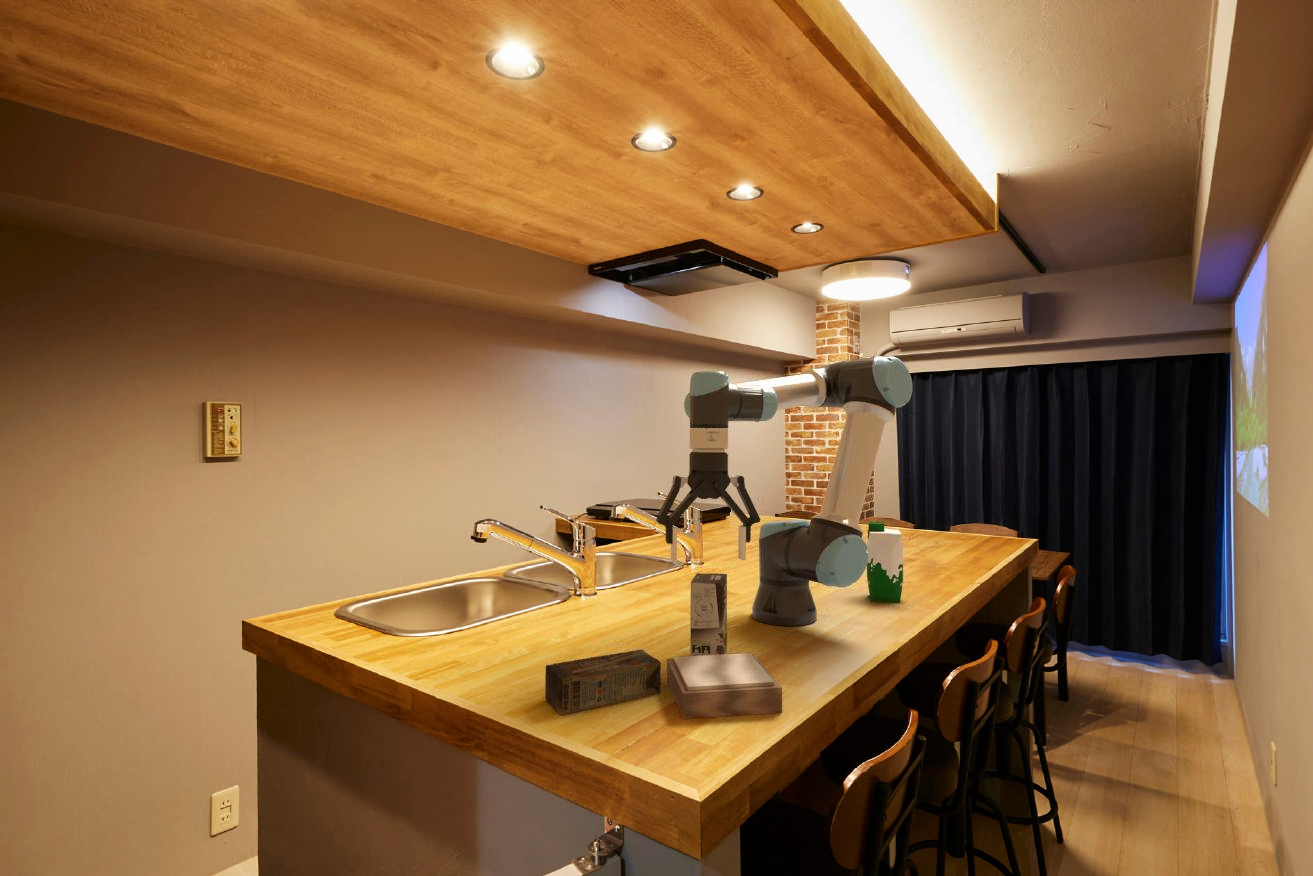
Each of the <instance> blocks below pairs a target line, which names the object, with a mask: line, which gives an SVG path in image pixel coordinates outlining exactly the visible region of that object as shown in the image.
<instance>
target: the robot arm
mask: <svg viewBox="0 0 1313 876" xmlns="http://www.w3.org/2000/svg"><path fill="white" fill-rule="evenodd" d="M729 378H730V377H729V374H728V373H727V372H726V371H720V370H700V371H695V372H693V373H692V375H691V376H690V381H689V392H688V393H687V394H686V396H685V398H684V402H683V404H684V405H683V407H684V412H685V414H686V416H687V417H688V418H689V444H688V445H689V449H690V450H692V451H691V452H690V453H689V456H688V457H689V458H688V461H689V462H688V463H689V469H688V470H689V471H688V476H687V477H685V476H680V475H676V474H675V475H673V477H672V482H671V483H672V484H671V485H672V486H671V487H670V490H669V492H668V494H667V496H666V498H665V500H664V502H663V504H662V506H661V508H660V510H659V512H658V514H657V517H656V519H655V521H656V522H657V523H658V524H659V525H662V526H664V529H665V532H664V533H665V536H664V537H665V543H666V544H667V545H670V561H672V562H673V563H677V561H678V556H677V555H678V553H677V552H678V528H677V526H675V524H676V523H677V522H678V521H679V519H680V518H681V517H682V516H683V514H684V513H685V512H687V510H688V509H689V507H690V506H691V505H692V504H693V502H695V501H696V500H697V499H698V498H699V499H700V500H708V499H711V500H712V499H713V500H718V499H722V501H724V502H725V504H726V505H727V506H728V508H729V509H730V510H731V512H733V514H734V515H735V516H736V517H737V518H738V520H739V521H740V523H741V524H738V540H737V541H738V546H737V547H738V550H737V551H738V552H737V553H738V555H737V558H738V559H740V560H741V561H746V560H747V559H746V556H747V554H746V553H747V551H746V550H747V544H746V543H750V542H751V541H752V540H751V538H752V537H751V535H752V533H751V531H752V529H751V528H752V526H753V525H755V524H757V523H760V522H761V518H760V515H759V513H758V511H757V509H756V507H755V505H754V503H753V501H752V498H751V497H750V495H749V492H748V490H747V489H746V488H747V487H746V483H745V477H744V476H743V475H740V474H738V475H735V476H729V454H728V452H726V450H728V449H729V422H755V423H759V422H767V421H770V420H771V419H773V418H774V416H775V414H776V413H777V411H781V410H782V411H783V410H788V409H792V408H798V407H805V408H808V409H817V408H818V409H819V408H834V409H835V408H836V409H837V408H839V409H843V411H844V412H845V414H846V419H845V422H844V426H843V430H842V434H841V436H840V440H839V444H838V447H837V451H836V454H835V458H834V462H833V465H832V468H831V471H830V472H831V473H830V476H829V479H828V483H827V487H826V491H825V493H824V496H823V497H824V498H823V501H822V505H821V508H820V512H818V513H816V514H815V515H813V516H811V518H810V521H808V520H807V519H793V520H792V519H791V520H789V519H788V520H780V521H779V520H777V521H768V522H764V523H763V524H762V525H761V526H760V529H759V537H758V547H759V548H758V558H759V559H758V561H759V564H758V565H759V583H758V584H759V585H758V588H757V591H756V594H755V597H754V601H753V604H752V608H751V610H752V612H751V613H752V618H753V619H754V620H756V621H758V622H761V623H764V624H769V625H774V626H783V627H784V626H787V627H790V626H791V627H792V626H793V627H795V626H796V627H797V626H804V625H810V624H812V623H814V622H816V621H817V619H818V617H817V616H818V614H817V613H818V609H817V606H816V603H815V600H814V598H813V597H814V596H813V593H812V591H811V588H810V582H814V583H817V584H821V585H823V586H826V587H835V588H847V587H850V586H852V585H853V584H854V583H857V582H858V581H859V580H860V578H861V577H862V576H863V575H864V573H865V571H866V570H867V563H868V555H869V554H868V552H867V549H868V548H867V543H866V541H865V540H864V539H863V535H864V531H863V529H862V527H861V525H860V524H859V522H860V519H861V514H862V510H863V508H864V503H865V500H866V499H865V498H866V496H867V492H868V489H869V486H870V482H871V477H872V475H873V469H874V465H875V462H876V459H877V455H878V451H879V447H880V443H881V440H882V437H883V432H884V429H885V426H886V425H887V424H888V423H890V422H891V421H893V420H894V418H895V415H896V410H897V408H902V407H905V405H906V404H908V403H909V402H910V400H911V397H912V393H913V381H912V376H911V374H910V370H909V368H908V367H907V366H906V364H905V363H904V362H903V361H902V360H901V359H900V358H898V357H895V356H892V355H891V356H889V355H888V356H880V355H878V356H876V357H868V358H860V359H851V360H849V359H848V360H841V361H837V362H833V363H829V364H827V365H823V366H819V367H815V368H808V369H805V370H803V371H802V372H801V373H800V374H797V375H788V376H781V377H775V378H767V379H765V378H764V379H760V380H752V381H746V382H738V383H733V382H730V380H729ZM686 484H687V485H688V486H689V488H690V490H689V492H688V493H687V494H686V495H685V497H684V498H683V500H682V501H681V502H680V503H679V505H677V507H676V508H675V509H674V510H673V511H672V513H671V514H669V513H670V511H671V509H672V507H673V504H674V503H675V501H676V498H677V497H678V494H679V492H680V489H682V488H684V486H685V485H686ZM730 484H732V486H733V487H734V488H736V491H737V493H738V495H739V497H740V499H741V501H742V503H743V506H744V507H745V509H746V513H747V514H748V516H747V515H746V514H745V512H744V511H743V509H741V508H740V506H739V505H738V504H737V503H736V501H735V500H734V499H733V498H732V496H731V495H730V494H729V493H728V491H727V489H728V487H729V485H730ZM667 517H668V518H667Z"/></svg>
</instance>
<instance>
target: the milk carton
mask: <svg viewBox="0 0 1313 876" xmlns="http://www.w3.org/2000/svg"><path fill="white" fill-rule="evenodd" d="M867 527H868V529H867V539H866V542H867V543H866V545H867V548H868V549H867V552H868V554H869V555H868V563H867V566H866V582H867V588H868V594H869V597H870V600H871V602H884V603H885V602H886V603H901V598H902V593H903V584H904V543H903V534H902V533H901V531H900V530H899V529H889V528H885V523H884V522H880V521H869V522H868V526H867Z"/></svg>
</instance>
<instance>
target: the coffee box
mask: <svg viewBox="0 0 1313 876" xmlns="http://www.w3.org/2000/svg"><path fill="white" fill-rule="evenodd" d="M689 620H690V625H689V626H690V633H689V634H690V639H689V641H690V642H689V643H690V647H689V648H690V649H689V650H690V651H689V652H690V656H703V655H722V654H728V574H727V573H719V572H718V573H717V572H716V573H709V572H708V573H700V572H699V573H696V574H695V576H694V577H693V578H692V580H691V581H690V619H689Z"/></svg>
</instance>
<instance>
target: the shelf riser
mask: <svg viewBox="0 0 1313 876" xmlns="http://www.w3.org/2000/svg"><path fill="white" fill-rule="evenodd" d="M666 682H667V684H668V687H669V690H670V691H671V694H672V696H673V699H674V702H675V703H676V706H677V708H678V711H679V713H680V716H681V718H682V720H687V719H690V720H691V719H704V718H719V717H735V716H750V715H764V714H765V715H766V714H782V713H783V687H782V686H781V684H779V682H778V680H776V678H775V677H774V676H773V675H772V674H771V673H770V671H769V670H768V669H767V668H766V667H765V666H764V665H763V663H762V662H761V661H760V660H759V659H758V657H756V655H755V654H753V653H752V654H751V653H749V652H747V653H745V652H744V653H727V654H722V655H703V656H689V655H687V656H673V657H672V658H666Z"/></svg>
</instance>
